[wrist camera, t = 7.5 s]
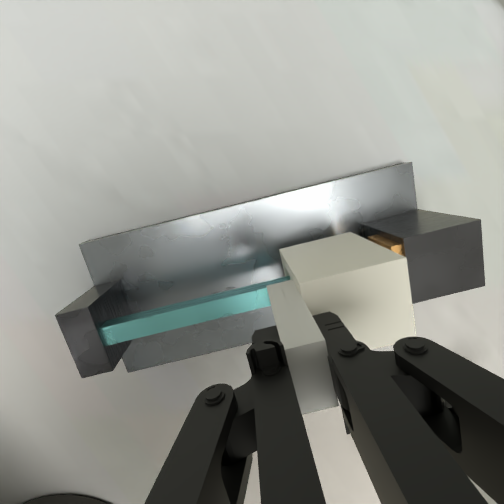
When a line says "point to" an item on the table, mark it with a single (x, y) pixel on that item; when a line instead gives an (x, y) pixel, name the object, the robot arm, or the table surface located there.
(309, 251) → the sleeve
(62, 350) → the table surface
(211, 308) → the glowing rod on plate
